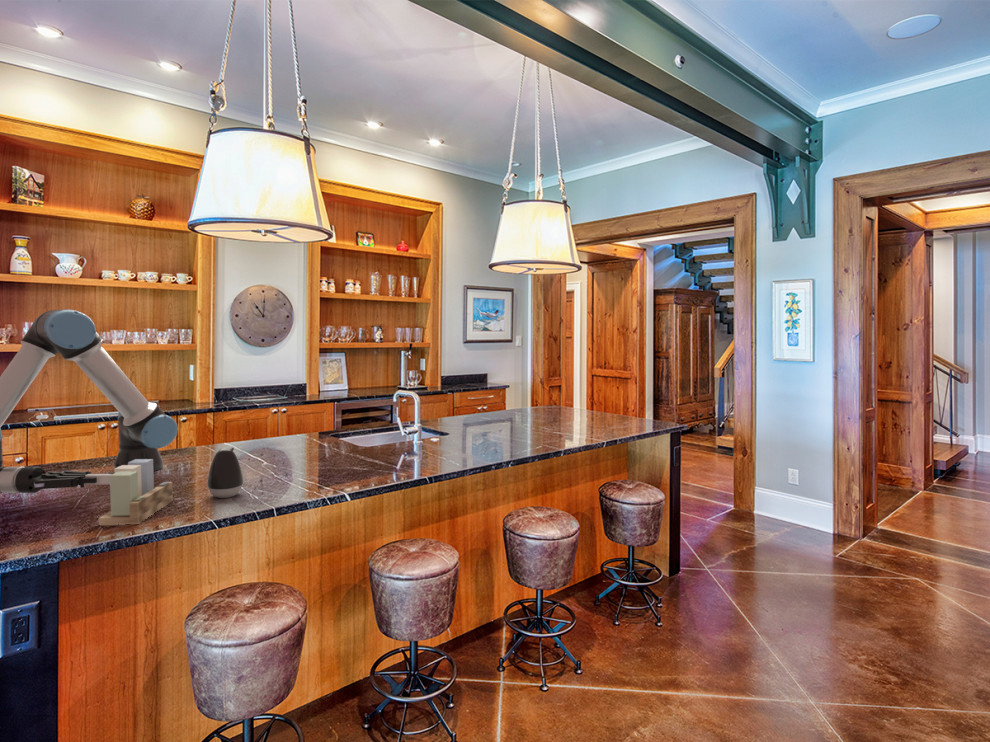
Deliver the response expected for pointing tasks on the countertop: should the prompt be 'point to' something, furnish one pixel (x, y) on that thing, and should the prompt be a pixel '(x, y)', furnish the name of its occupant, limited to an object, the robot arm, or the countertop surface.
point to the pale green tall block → (123, 492)
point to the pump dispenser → (225, 474)
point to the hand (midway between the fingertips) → (110, 479)
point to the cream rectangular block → (127, 469)
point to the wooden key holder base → (142, 506)
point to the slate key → (145, 473)
